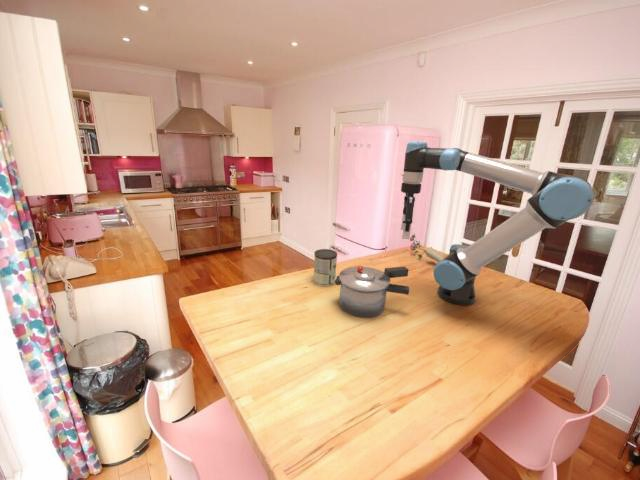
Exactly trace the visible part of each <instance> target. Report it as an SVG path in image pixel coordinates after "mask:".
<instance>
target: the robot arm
mask: <svg viewBox="0 0 640 480" xmlns="http://www.w3.org/2000/svg"><path fill="white" fill-rule="evenodd" d="M403 165H404V166H403V172H402V173H400V174H401V175H400V176H401V177H402V178H401V179H402V182H401V187H400V188H401V189H400V192H401V193H404V194H405V196H404V197H403V198H404V199H403V200H404V202H403V210H402V219H401V226H400V228H401V229H400V230H402V237H401V238H402V239H403V240H410V238H411V230H412V229H411V228H412V224H413V219H414V218H413V216H414V207H415V202H416V198H415V195H416V194H417V195H418V194H420V193H421V190H422V182H423V177H424V169H431V170H439V171H440V170H442V171H458V172H461V173H464V174H468V175H470V176H475V177H478V178H481V179H484V180H487V181H490V182H493V183H496V184H500V185H502V186H506V187H508V188H512V189H516V190H517V191H521V192H524V193H527V194H530V195H532V196H531V197H529V198H528V199H527V200H526V204H525V207H523V208H522V209H521V210H520V211H518V212H517V213H515V214H514V215H512V216H511V217H509V218H508V219H506V220H505V221H503V222H502V223H500V224H499V225H497V226H496V227H494V228H493V229H492V230H491V231H489V232H488V233H486V234H484V235H482V237H480V238H478V239H477V240H476V241H474V242H473V243H472V244H470V245H465V244H456V243H454V244H452V245H450V249H449V253H448V255H446V256H445V257H443V258H444V259H443V260H441V261H439V262H437V263H436V264H435V266H434V268H433V278H434V280H435V281H436V283H437V285H439V286H438V287H437V295H438V297H440V298H441V299H442V300H444V301H446V302H448V303H451V304H454V305H459V306H470V305H472V304H474V303H475V301H476V298H477V297H476V296H477V295H476V289H475V280H476V277H477V276H478V275H480V274H481V273H482V268H483V267H486V265H488V264H490V263H491V262H493V261H495V260H496V259H497V258H500V257H502V256H503V255H504V254H506V253H508V252H509V251H510V250H512V249H514V248H516V247H517V246H519V245H521V244H522V243H524V242H525V241H527V240H529V239H530V238H532V237H534V236H535V235H537V234H538V233H539V232H540V233H541V232H542V231H543V230H545V229H556V228H558V227H560V226H561V225H563V224H565V223H567V222H568V221H571V220H574V219H576V218H579V217H581V216H583V215H584V214H586V213H587V212H588V211H589V209H590V208H591V206H592V205H593V202H594V199H595V196H594V195H595V193H594V190H593V188H592V185H591V184H590V182H588V180H586V179H585V178H583V177H581V176H578V175H571V174H566V173H565V174H563V173H559V172H555V171H554V172H553V171H551V170H547V171H544V172H542V171H538V170H535V169H531V168H528V167H524V166H520V165H516V164H512V163H508V162H506V161H505V162H504V161H502V160H498V159H495V158H491V157H487V156H484V155H481V154H476V153H473V152H468V151H465V150H462V149H461V148H458V147H455V148H454V147H453V148H450V147H448V148H446V147H445V148H443V147H442V148H441V147H430V146H429V147H428V143H427V141H408V142H407V144H406V149H405V153H404V164H403Z"/></svg>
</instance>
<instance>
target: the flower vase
mask: <svg viewBox="0 0 640 480" xmlns="http://www.w3.org/2000/svg"><path fill="white" fill-rule="evenodd" d="M415 239H417V238H416V234H415V232H414V233H413V234H412V235H411V236H410V237H409V240H410V242H412V243H411V245H410V250H411V251H414V252H413V254H417V253H419V251H418V250H419V249H420V250H421V251H423V252H421V253H422V254H421V253H420V254H418V255H417V257H418V260H420V259H422V257H423V255H424V254H425V256H426V257H428V258H429V259H431V260H433V261H435V262H437V263H438V262H439V261H441V260H443V259H444V258H445V257H444V256H442V255H441V254H440V253H439V252H438V251H436V250H435V249H434V248H433V247H432V246H430V247H428V249H427V250H426V249H424V248H423V246H422V245H421V244H420V243H421V241H420V240H419V241H418V240H415ZM417 249H418V250H417Z"/></svg>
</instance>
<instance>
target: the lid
mask: <svg viewBox="0 0 640 480" xmlns="http://www.w3.org/2000/svg"><path fill="white" fill-rule="evenodd" d="M338 276H339V280H340V282H341V283H342V284H343V285H344V286H346V287H347V288H350V289H352V290H355V291H360V292H380V291H383V290H385V289H387V288H388V287H389V285H390V284H391V279H392V278H393V279H394V278H395V279H396V278H403V277H404V278H405V277H408V276H409V268H407V267H406V266H396V267H385V268H384V271H382V270H381V269H377V268H373V267H370V266H369V267H368V266H361V265H358V266H350V267H347V268H344V269H342V270H341V271H340V272H339V275H338Z"/></svg>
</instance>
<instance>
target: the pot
mask: <svg viewBox="0 0 640 480" xmlns="http://www.w3.org/2000/svg"><path fill="white" fill-rule="evenodd" d="M334 285H336V286H340V291H339V301H338V304H339V307H340V309H341V310H342V311H343V312H344V313H346V314H348V315H349V316H353V317H355V318H361V319H369V318H372V319H373V318H376V317H379V316H381V315H382V314H383V313H384V311H385V305H386V300H387V299H386V298H387V293H394V294H400V295H409V294H410V286H408V285H401V284H394V283H390V285H389V287H388V288H387V289H385V290H383V291H380V292H360V291H355V290H352V289H350V288H347V287H346V286H344V285H343V284H342V283H341V282H340V280H339V275H337V276H336V278H335V283H334Z"/></svg>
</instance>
